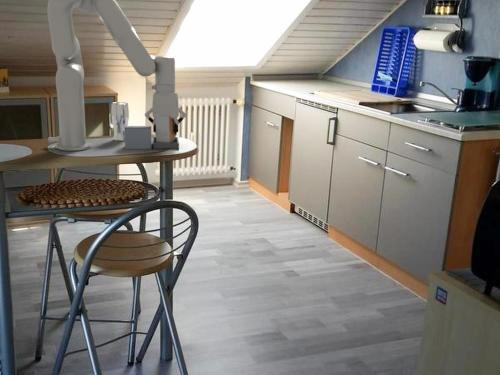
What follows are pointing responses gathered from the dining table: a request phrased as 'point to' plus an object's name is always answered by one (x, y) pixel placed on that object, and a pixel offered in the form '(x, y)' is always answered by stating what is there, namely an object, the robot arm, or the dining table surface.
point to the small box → (165, 129)
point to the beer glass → (119, 119)
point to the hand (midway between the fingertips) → (165, 133)
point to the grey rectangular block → (138, 137)
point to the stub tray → (166, 145)
